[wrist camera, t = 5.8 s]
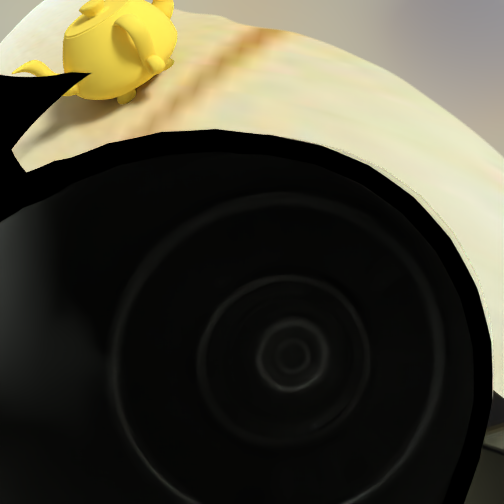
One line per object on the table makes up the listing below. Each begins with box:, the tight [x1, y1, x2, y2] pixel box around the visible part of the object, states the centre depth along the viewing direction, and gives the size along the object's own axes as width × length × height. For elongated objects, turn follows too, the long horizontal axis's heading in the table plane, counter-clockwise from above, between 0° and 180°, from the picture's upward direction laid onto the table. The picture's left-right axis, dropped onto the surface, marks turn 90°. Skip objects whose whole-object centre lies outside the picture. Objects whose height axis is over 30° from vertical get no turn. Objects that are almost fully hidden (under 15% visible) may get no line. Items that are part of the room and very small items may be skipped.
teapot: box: [12, 0, 177, 104], centre depth 24 cm, size 20×15×12 cm
